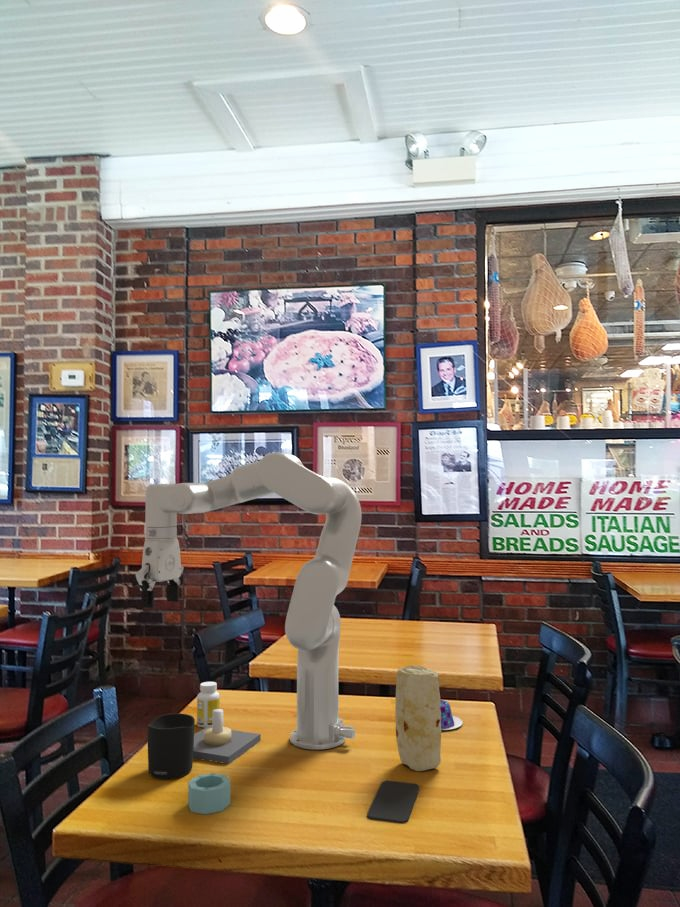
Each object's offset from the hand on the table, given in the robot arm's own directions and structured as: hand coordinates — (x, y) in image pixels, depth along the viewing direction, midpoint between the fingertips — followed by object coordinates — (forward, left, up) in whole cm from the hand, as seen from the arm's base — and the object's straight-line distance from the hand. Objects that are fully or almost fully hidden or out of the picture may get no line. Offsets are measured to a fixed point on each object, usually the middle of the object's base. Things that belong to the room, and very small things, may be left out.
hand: (160, 604), depth 164 cm
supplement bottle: (-11, -5, -29) cm, 32 cm away
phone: (-65, +18, -30) cm, 74 cm away
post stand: (-21, +7, -29) cm, 37 cm away
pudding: (-63, -26, -30) cm, 74 cm away
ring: (-34, +31, -29) cm, 55 cm away
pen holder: (-19, +22, -29) cm, 41 cm away
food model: (-65, +1, -29) cm, 71 cm away
